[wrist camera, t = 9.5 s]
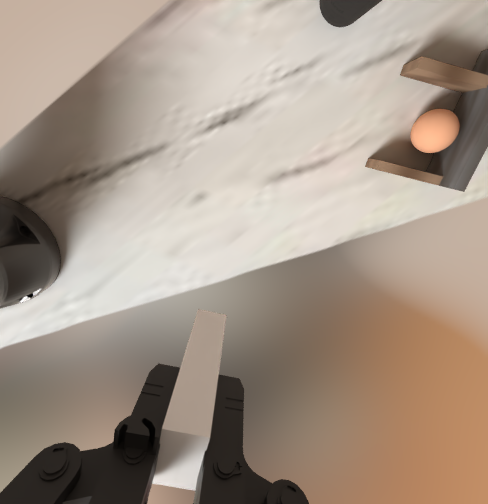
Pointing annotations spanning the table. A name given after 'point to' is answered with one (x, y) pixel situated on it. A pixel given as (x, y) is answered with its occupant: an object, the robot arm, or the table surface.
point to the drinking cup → (345, 10)
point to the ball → (435, 130)
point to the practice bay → (468, 113)
